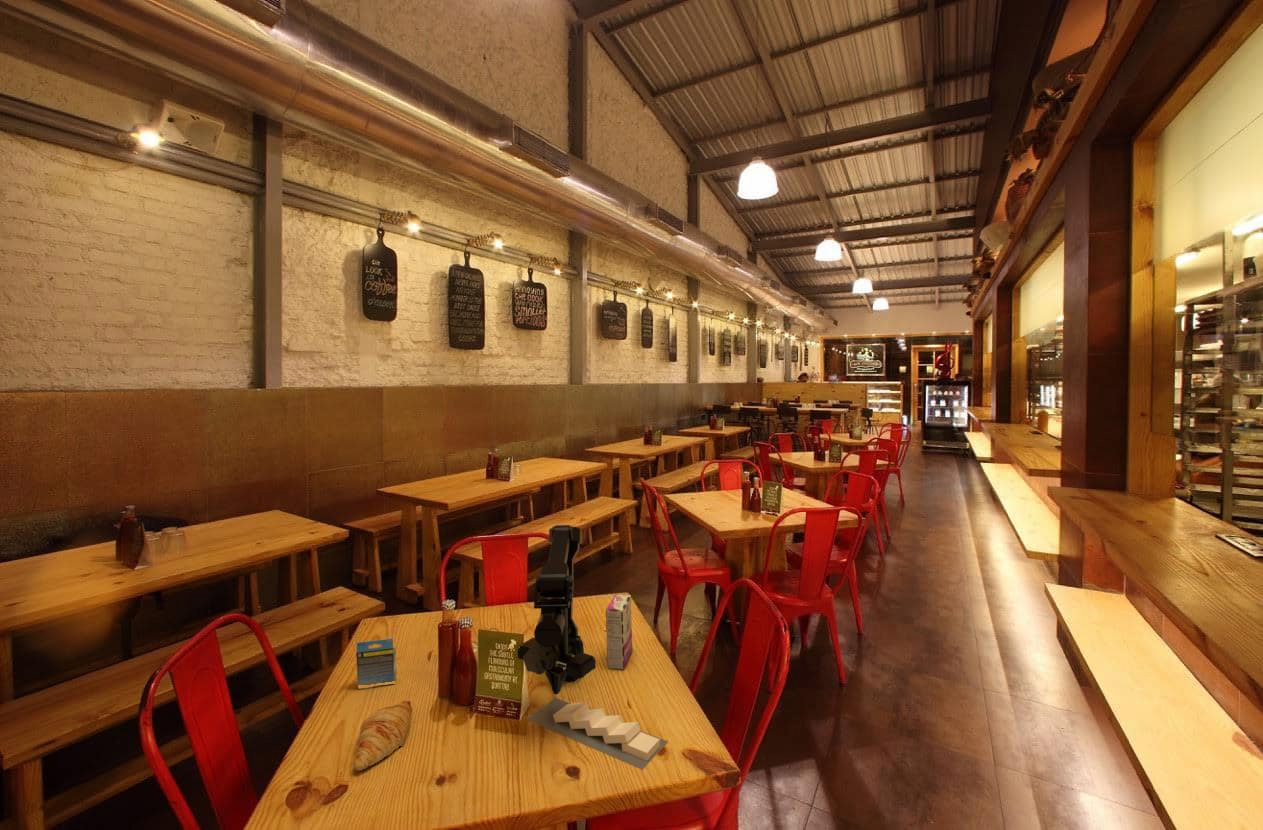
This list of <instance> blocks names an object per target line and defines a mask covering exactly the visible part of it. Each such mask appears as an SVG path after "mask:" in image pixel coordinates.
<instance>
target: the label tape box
mask: <svg viewBox="0 0 1263 830" xmlns="http://www.w3.org/2000/svg"><path fill="white" fill-rule="evenodd" d="M374 645H376V646H377V647H376V646H375V647H371V646H374ZM378 645H379V646H378ZM396 649H397V648H396V646H394V638H393V637H391V638H386V639H375V640H374V639H373V640H367V641H357V642H356V652H355V658H356V678H357V686H358V685H371V684H377V683H385V682H392V681H395V679H396V680H397V678H396V675H398V674H397V673H398V672H397V671H398V670H397V669H398V668H397V654H396V653H397V651H396Z"/></svg>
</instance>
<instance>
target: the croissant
mask: <svg viewBox="0 0 1263 830" xmlns="http://www.w3.org/2000/svg"><path fill="white" fill-rule="evenodd" d="M412 713H413V707H412V705H411V701H410V700H403V701H401V702H399V703H397V704H395V705H392V706H387V707H383V708H381V709H378V710H376V711H374V712H373V713H371V714H370V715H369V716H368V717H366V718H365V719H364V721H363V722H362V723H361V725H360V727H359V730H360V731H359V737H358V740H357V744H358V747H357V749H356V752H355V753H356V756H355V757H356V758H355V760H354V769H355V770H356V771H363V770H365V769H367V767H368V766H370V767H371V765H372V766H373V764H374V765H376V764H378V763H379V762H381V761H382V760H383V759H385V758H387V757H389V756H390V755H392V753H394V752H395V751H396V750H398V749H399V747H398V746H401V747H402V746H403V745H404V743H405V740H406V738H407V736H408V733H409V732H410V727H411V722H412ZM395 749H396V750H395ZM394 750H395V751H394ZM393 751H394V752H393ZM386 756H387V757H386ZM384 757H385V758H384ZM380 760H381V761H380ZM377 762H378V763H377ZM375 763H376V764H375ZM368 768H369V767H368Z"/></svg>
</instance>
